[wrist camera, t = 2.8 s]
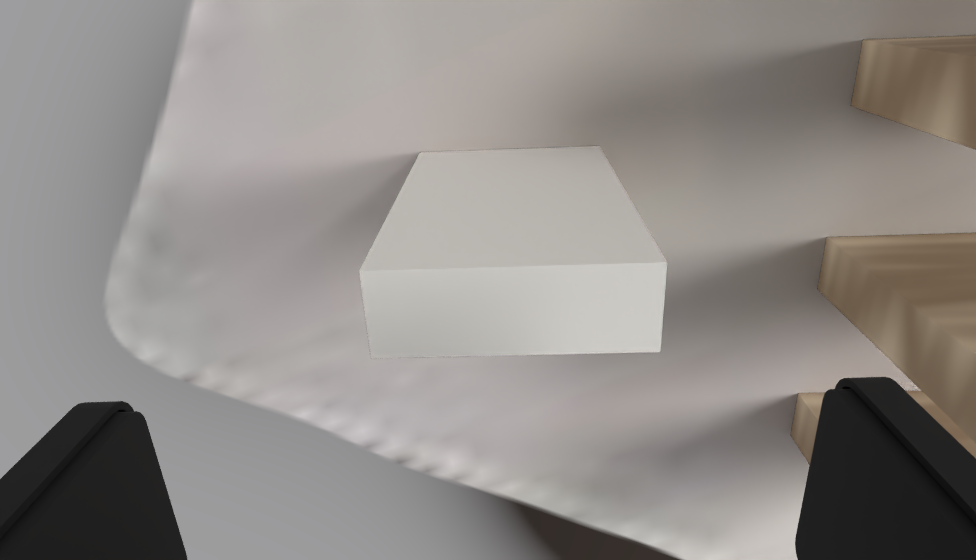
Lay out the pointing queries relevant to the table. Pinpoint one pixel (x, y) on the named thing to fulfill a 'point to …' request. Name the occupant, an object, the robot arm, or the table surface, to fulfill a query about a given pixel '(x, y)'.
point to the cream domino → (513, 259)
